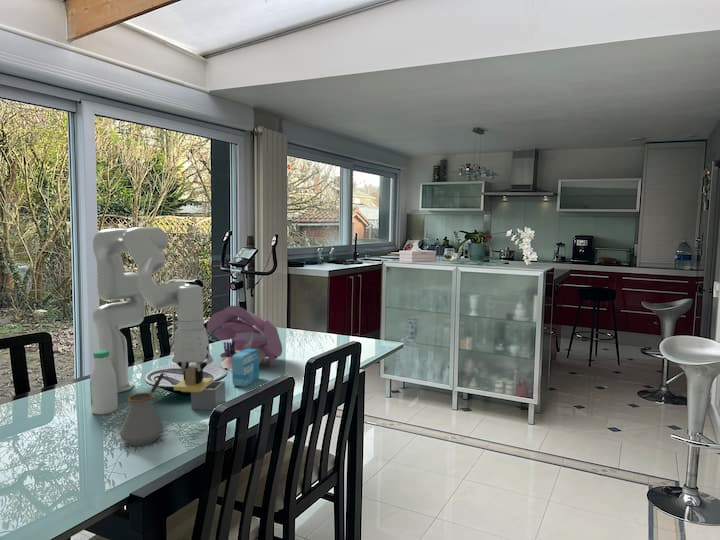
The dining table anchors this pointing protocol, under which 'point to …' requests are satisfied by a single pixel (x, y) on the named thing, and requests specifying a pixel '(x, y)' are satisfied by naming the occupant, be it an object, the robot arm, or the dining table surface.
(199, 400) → the box
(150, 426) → the coffee pot
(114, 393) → the milk bottle
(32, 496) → the dining table surface
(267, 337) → the pink curved piece
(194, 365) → the lid
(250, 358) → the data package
